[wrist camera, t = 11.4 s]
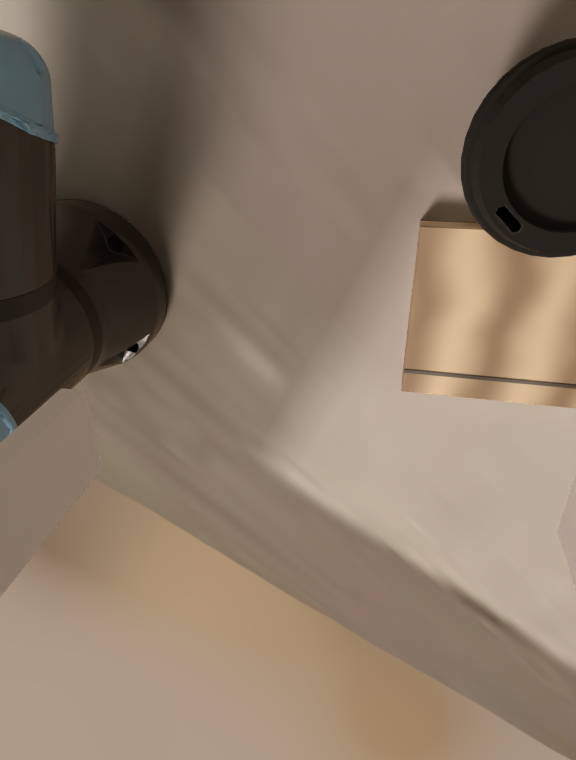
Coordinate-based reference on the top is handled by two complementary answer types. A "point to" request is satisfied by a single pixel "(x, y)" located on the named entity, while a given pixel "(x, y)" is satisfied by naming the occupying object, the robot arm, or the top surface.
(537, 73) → the coffee cup
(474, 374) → the board
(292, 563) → the top surface
